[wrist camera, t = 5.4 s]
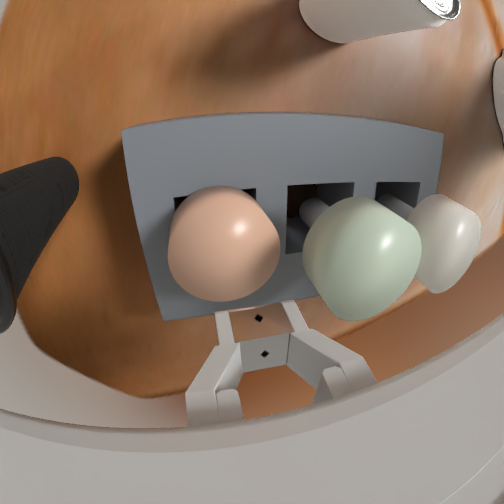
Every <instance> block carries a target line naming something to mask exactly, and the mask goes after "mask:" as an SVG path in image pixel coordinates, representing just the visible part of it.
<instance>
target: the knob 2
mask: <svg viewBox="0 0 504 504" xmlns="http://www.w3.org/2000/svg"><path fill="white" fill-rule="evenodd" d="M377 202H378V203H380V204H381V205H383V206H385V207H386V208H388V209H389V210H391V211H392V212H394V213H395V214H397V215H398V216H400V217H401V218H403V219H404V220H406V221H407V222H409V223H410V224H412V225H413V226H414V227H415V228H416V230H417V231H418V233H419V236H420V239H421V246H422V251H421V259H420V263H419V266H418V269H417V271H416V274H415V277H416V278H417V279H418V280H419V281H420V282H421V283H422V284H423V285H424V286H425V287H426V288H427V289H428V290H429V291H431V292H432V293H441V292H444V291H446V290H447V289H449V288H450V287H452V286H453V285H454V284H455V283H456V282H457V281H458V280H459V279H460V278H461V277H462V276H463V274H464V273H465V272H466V270H467V269H468V267H469V266H470V264H471V262H472V260H473V258H474V256H475V254H476V251H477V248H478V245H479V241H480V236H481V222H480V219H479V217H478V215H477V214H475V213H474V212H472V211H471V210H469V209H467V208H466V207H464V206H462V205H460V204H459V203H457V202H455V201H453V200H452V199H450V198H448V197H446V196H444V195H442V194H433V195H430V196H428V197H426V198H425V199H423V200H422V201H421V202H420V203H419V204H418V205H417V206H416V207H415V208H413V207H411V206H409V205H408V204H406V203H404V202H403V201H401V200H399V199H397V198H396V197H394V196H392V195H390V194H388V193H385V194H383V195H381V196H380V197H379V199H378V200H377Z"/></svg>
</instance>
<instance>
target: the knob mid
mask: <svg viewBox="0 0 504 504" xmlns="http://www.w3.org/2000/svg"><path fill="white" fill-rule="evenodd" d="M299 215H300V217H301V219H302V220H303V221H304V222H305V223H306V224H307V225H308V226H309V227H310V230H309V232H308V234H307V236H306V239H305V242H304V246H303V251H302V262H303V267H304V270H305V272H306V274H307V276H308V277H309V279H310V280H311V282H312V283H313V285H314V287H315V288H316V290H317V291H318V293H319V294H320V296H321V297H322V299H323V300H324V302H325V303H326V305H327V306H328V308H329V309H330V311H331V312H332V313H333V314H334V315H335V316H336V317H338V318H340V319H343V320H347V321H358V320H363V319H367V318H369V317H372V316H374V315H376V314H378V313H380V312H382V311H383V310H385V309H386V308H388V307H389V306H390V305H391V304H393V303H394V302H395V301H396V300H397V299H398V298H399V297H400V296H401V295H402V294H403V293H404V291H405V290H406V289H407V287H408V286H409V284H410V283H411V281H412V279H413V278H414V276H415V274H416V271H417V269H418V266H419V263H420V259H421V251H422V246H421V239H420V236H419V233H418V231H417V230H416V228H415V227H414V226H413V225H412V224H410V223H409V222H407V221H406V220H404V219H403V218H401V217H400V216H398V215H397V214H395V213H394V212H392V211H391V210H389V209H388V208H386V207H385V206H383V205H381V204H380V203H378V202H377V201H375V200H373V199H371V198H368V197H363V196H356V197H350V198H346V199H343V200H341V201H338V202H337V203H335V204H333V205H332V206H330V207H329V206H328V205H326V204H325V203H324V202H323V201H321V200H320V199H318V198H316V197H311V198H308V199H306V200H305V201H304V202H303V203H302V204H301V206H300V209H299Z"/></svg>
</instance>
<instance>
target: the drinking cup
mask: <svg viewBox="0 0 504 504" xmlns="http://www.w3.org/2000/svg"><path fill="white" fill-rule="evenodd" d="M78 190H79V179H78V175H77V172H76V170H75V168H74V167H73V166H72V164H71V163H70V162H69V161H67V160H66V159H64V158H61V157H51V158H48V159H44V160H41V161H37V162H34V163H31V164H28V165H24V166H21V167H18V168H15V169H12V170H10V171H7V172H4V173H1V174H0V333H3V332H4V331H6V330H7V329H8V328H9V327H10V325H11V324H12V322H13V320H14V317H15V314H16V308H17V299H18V297H19V294H20V292H21V290H22V288H23V286H24V284H25V282H26V280H27V278H28V276H29V274H30V272H31V270H32V268H33V266H34V265H35V263H36V261H37V259H38V257H39V255H40V254H41V252H42V250H43V249H44V247H45V245H46V243H47V242H48V240H49V239H50V237H51V235H52V234H53V232H54V230H55V229H56V227H57V226H58V224H59V223H60V221H61V220H62V218H63V217H64V215H65V214H66V212H67V211H68V209H69V208H70V207H71V205H72V204H73V202H74V201H75V199H76V197H77V194H78Z"/></svg>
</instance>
